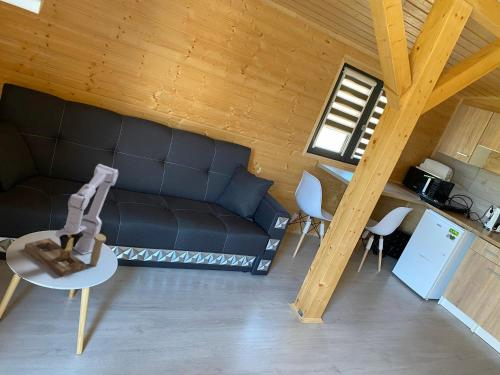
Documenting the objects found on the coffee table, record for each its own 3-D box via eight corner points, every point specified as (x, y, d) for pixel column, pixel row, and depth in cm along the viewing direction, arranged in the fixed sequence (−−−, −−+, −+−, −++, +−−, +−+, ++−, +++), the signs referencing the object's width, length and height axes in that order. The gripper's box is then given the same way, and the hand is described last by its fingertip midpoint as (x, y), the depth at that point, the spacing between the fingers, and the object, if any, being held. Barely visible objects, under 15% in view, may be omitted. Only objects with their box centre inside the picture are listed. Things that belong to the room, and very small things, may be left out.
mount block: (48, 243, 185) (49, 238, 184) (84, 269, 175) (85, 263, 175) (24, 249, 174) (25, 243, 174) (61, 277, 165) (62, 271, 164)
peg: (65, 252, 174) (70, 233, 172) (72, 256, 173) (76, 237, 170) (57, 254, 170) (61, 235, 168) (63, 259, 169) (68, 239, 166)
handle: (90, 268, 177) (97, 240, 174) (85, 261, 182) (92, 233, 178) (100, 267, 181) (107, 240, 177) (95, 260, 185) (102, 233, 181)
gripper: (81, 214, 175) (75, 239, 178) (53, 219, 162) (47, 247, 165) (92, 220, 172) (85, 246, 175) (64, 226, 159) (57, 254, 162)
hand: (67, 247), depth 170 cm, fingers closed on peg, 4 cm apart
